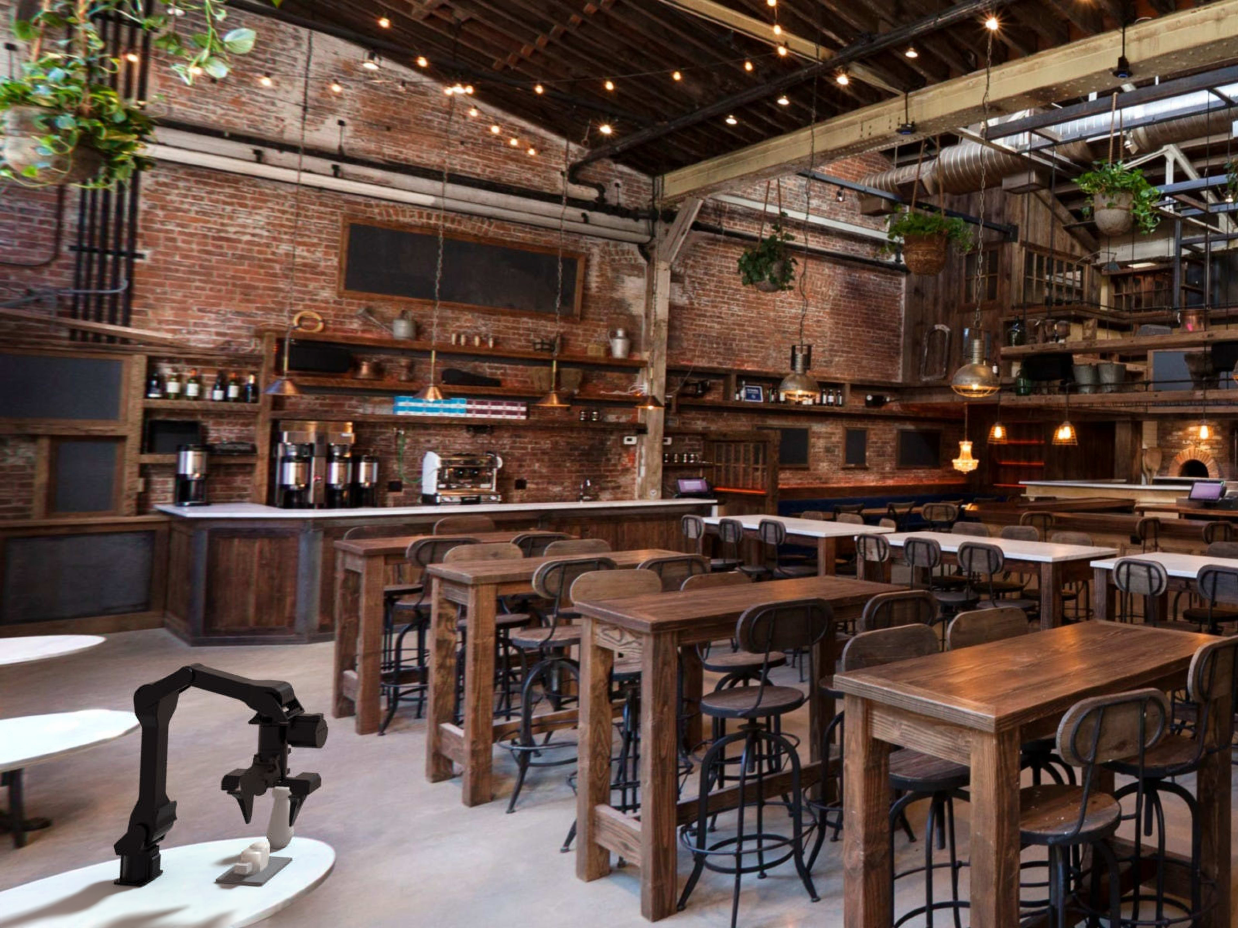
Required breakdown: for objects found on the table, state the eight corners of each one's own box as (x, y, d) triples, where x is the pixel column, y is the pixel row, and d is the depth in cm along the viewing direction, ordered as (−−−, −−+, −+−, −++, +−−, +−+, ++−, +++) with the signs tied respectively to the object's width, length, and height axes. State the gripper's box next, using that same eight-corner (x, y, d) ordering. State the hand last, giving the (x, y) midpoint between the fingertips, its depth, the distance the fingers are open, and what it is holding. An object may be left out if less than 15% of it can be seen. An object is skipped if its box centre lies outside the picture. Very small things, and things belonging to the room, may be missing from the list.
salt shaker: (283, 850, 182) (285, 790, 182) (260, 848, 183) (262, 788, 183) (298, 840, 187) (301, 782, 188) (276, 838, 188) (278, 780, 189)
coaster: (215, 881, 166) (215, 878, 166) (248, 857, 178) (248, 854, 178) (262, 885, 165) (262, 882, 165) (292, 860, 177) (292, 857, 177)
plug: (255, 860, 175) (255, 841, 175) (272, 861, 175) (273, 842, 175) (230, 878, 166) (231, 858, 166) (249, 880, 166) (250, 859, 166)
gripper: (205, 755, 159) (201, 837, 158) (296, 760, 157) (293, 843, 156) (238, 739, 170) (234, 816, 170) (323, 744, 168) (320, 821, 167)
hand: (269, 824), depth 165 cm, fingers open, 9 cm apart
